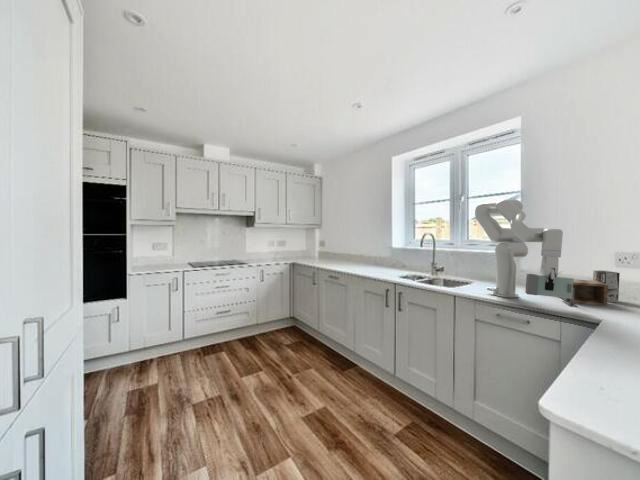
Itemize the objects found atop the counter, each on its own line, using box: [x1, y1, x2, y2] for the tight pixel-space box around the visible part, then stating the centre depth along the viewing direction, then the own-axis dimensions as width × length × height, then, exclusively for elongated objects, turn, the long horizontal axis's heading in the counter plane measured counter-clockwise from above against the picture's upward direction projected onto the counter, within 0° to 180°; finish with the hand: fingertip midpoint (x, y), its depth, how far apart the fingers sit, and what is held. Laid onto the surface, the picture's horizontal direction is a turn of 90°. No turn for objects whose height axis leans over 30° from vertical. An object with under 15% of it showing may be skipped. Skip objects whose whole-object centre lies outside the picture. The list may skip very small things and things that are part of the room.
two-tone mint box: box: [524, 273, 575, 299], centre depth 135 cm, size 18×4×10 cm, turn 63°
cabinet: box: [558, 278, 608, 308], centre depth 142 cm, size 18×22×11 cm
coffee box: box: [592, 270, 620, 303], centre depth 149 cm, size 9×6×16 cm
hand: (548, 289), depth 135 cm, fingers closed on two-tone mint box, 2 cm apart
